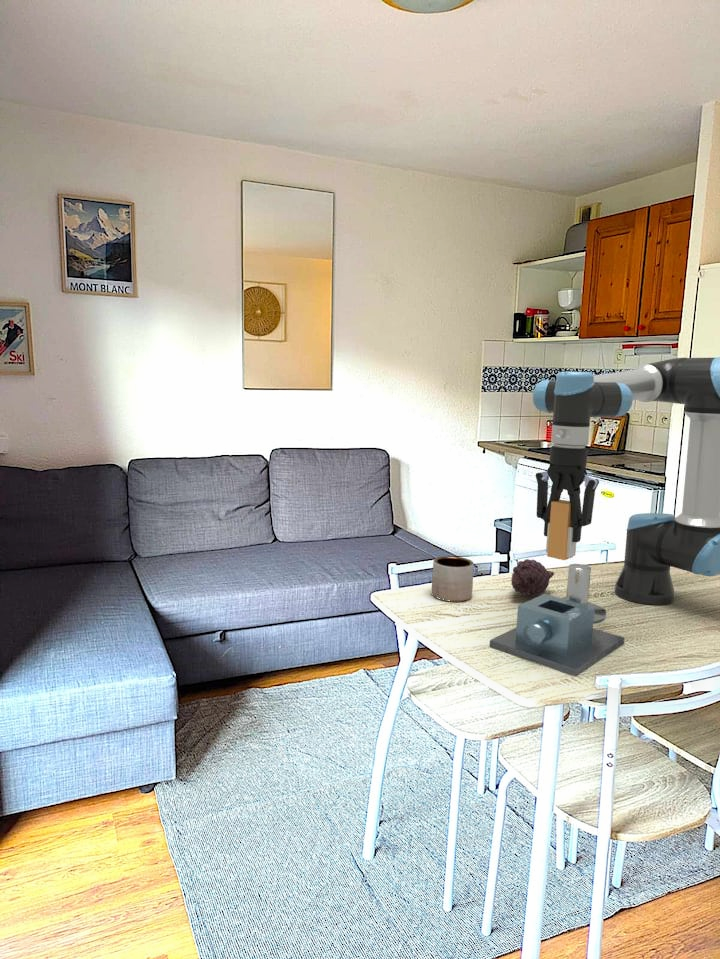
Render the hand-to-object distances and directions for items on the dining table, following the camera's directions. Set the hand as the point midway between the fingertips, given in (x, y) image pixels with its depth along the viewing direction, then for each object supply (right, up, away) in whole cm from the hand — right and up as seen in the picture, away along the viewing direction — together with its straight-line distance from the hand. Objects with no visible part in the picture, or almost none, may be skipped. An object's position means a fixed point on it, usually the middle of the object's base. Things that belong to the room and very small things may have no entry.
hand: (560, 553), depth 146 cm
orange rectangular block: (0, -1, 0) cm, 1 cm away
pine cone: (+3, -16, +38) cm, 42 cm away
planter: (-19, -16, +36) cm, 44 cm away
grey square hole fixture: (+2, -21, +6) cm, 22 cm away
